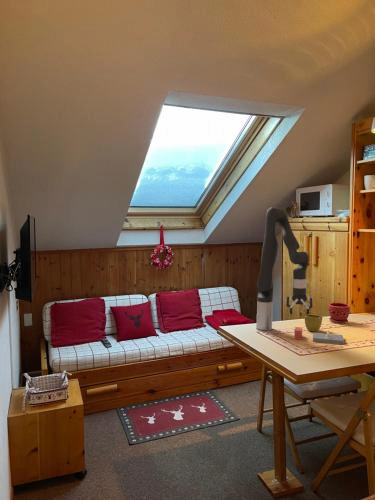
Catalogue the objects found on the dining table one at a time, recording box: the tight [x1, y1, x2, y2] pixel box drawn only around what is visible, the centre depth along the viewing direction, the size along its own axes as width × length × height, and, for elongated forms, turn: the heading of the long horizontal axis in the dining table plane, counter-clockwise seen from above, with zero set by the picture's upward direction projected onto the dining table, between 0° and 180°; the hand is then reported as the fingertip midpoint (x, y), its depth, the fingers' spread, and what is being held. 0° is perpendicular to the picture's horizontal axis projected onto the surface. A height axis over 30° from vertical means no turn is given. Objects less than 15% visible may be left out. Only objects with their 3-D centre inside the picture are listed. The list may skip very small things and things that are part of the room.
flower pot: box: [304, 313, 323, 333], centre depth 245 cm, size 9×9×9 cm
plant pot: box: [328, 302, 351, 324], centre depth 265 cm, size 13×13×12 cm
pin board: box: [312, 329, 345, 345], centre depth 224 cm, size 16×12×5 cm
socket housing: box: [293, 326, 303, 341], centre depth 229 cm, size 4×8×5 cm, turn 162°
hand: (299, 314), depth 229 cm, fingers open, 8 cm apart
